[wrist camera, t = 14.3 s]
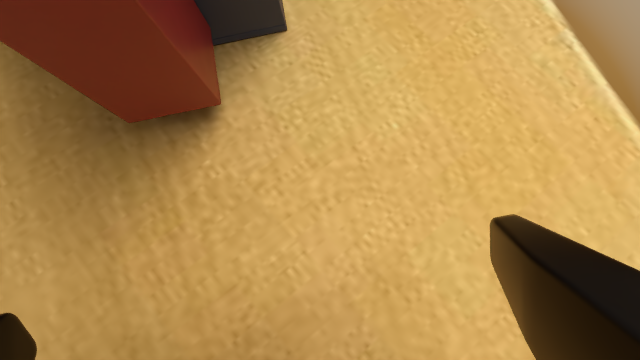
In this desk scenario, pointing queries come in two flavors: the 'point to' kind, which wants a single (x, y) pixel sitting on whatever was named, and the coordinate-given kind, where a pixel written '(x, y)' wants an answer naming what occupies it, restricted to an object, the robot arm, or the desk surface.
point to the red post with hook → (120, 51)
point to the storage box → (242, 18)
